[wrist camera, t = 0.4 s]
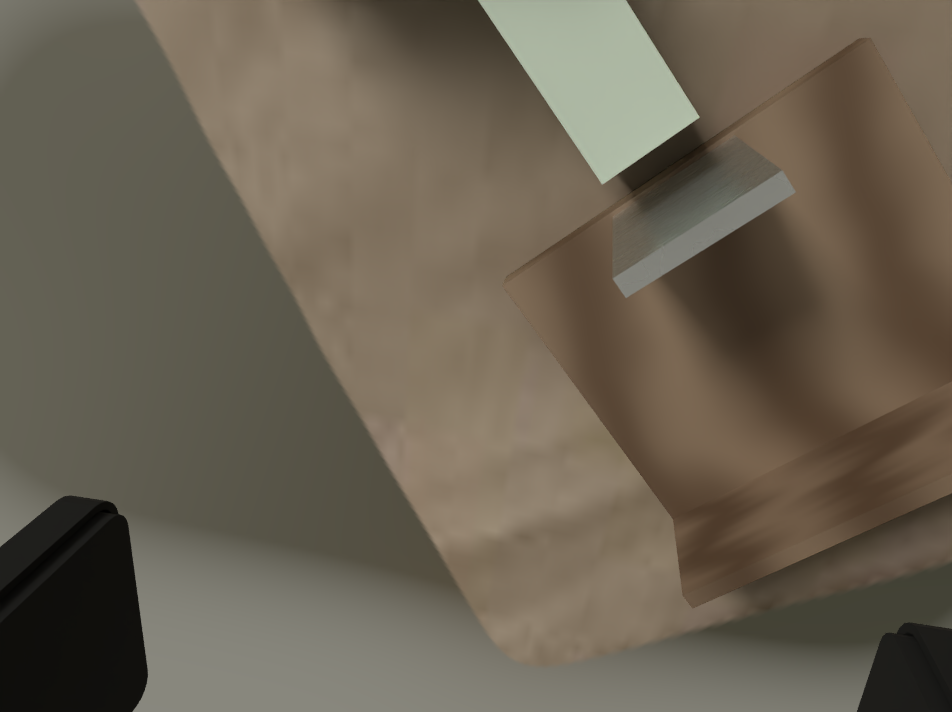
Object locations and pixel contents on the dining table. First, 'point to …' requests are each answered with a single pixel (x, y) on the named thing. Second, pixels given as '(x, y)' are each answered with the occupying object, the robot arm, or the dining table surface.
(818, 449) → the shelf
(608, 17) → the book
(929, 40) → the dining table surface
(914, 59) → the dining table surface
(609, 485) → the dining table surface
